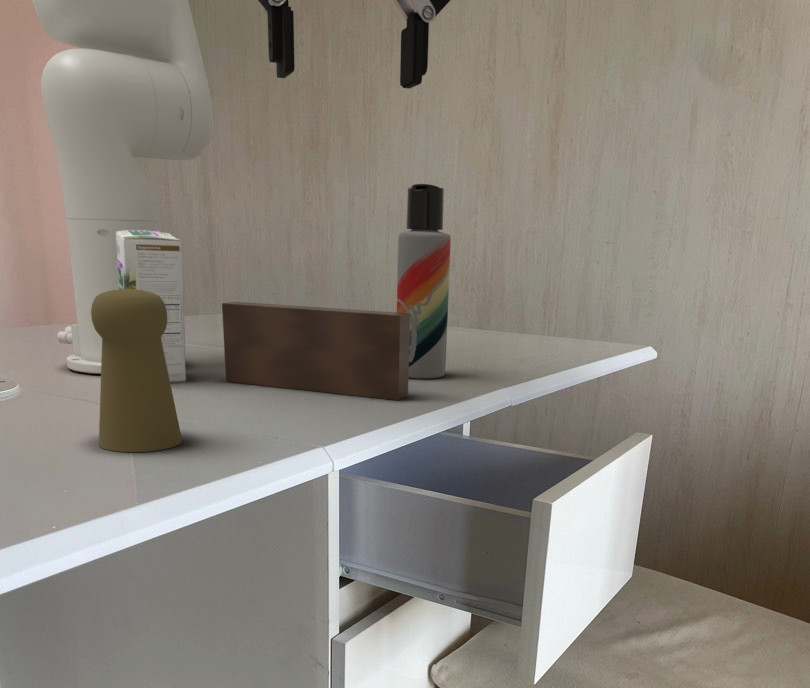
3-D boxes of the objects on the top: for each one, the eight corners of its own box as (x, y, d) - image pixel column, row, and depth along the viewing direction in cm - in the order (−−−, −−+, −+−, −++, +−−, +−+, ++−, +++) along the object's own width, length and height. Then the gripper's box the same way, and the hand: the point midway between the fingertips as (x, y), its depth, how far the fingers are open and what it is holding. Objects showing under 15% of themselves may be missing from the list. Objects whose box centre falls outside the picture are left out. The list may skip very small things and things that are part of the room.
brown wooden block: (225, 381, 88) (221, 303, 85) (238, 378, 90) (235, 301, 87) (398, 400, 81) (400, 315, 78) (408, 396, 83) (410, 313, 80)
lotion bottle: (387, 376, 93) (391, 182, 86) (405, 369, 98) (410, 186, 91) (435, 380, 91) (443, 183, 85) (451, 373, 96) (459, 186, 90)
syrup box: (122, 371, 90) (111, 229, 84) (178, 369, 92) (171, 230, 86) (131, 385, 85) (120, 236, 79) (189, 382, 88) (183, 237, 82)
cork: (159, 454, 59) (146, 294, 56) (82, 448, 60) (64, 291, 57) (195, 435, 65) (186, 289, 61) (124, 430, 66) (110, 285, 62)
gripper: (448, -163, 62) (439, 96, 68) (211, -206, 56) (224, 79, 62) (490, -209, 55) (476, 82, 61) (226, -263, 50) (239, 62, 56)
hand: (349, 80), depth 62 cm, fingers open, 9 cm apart
